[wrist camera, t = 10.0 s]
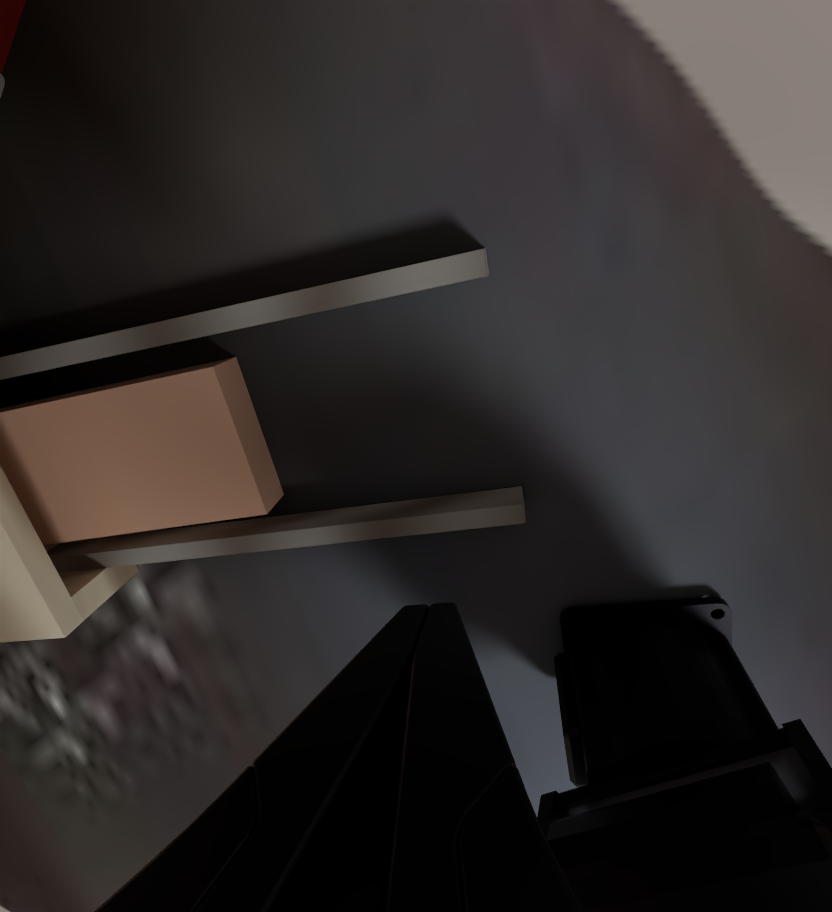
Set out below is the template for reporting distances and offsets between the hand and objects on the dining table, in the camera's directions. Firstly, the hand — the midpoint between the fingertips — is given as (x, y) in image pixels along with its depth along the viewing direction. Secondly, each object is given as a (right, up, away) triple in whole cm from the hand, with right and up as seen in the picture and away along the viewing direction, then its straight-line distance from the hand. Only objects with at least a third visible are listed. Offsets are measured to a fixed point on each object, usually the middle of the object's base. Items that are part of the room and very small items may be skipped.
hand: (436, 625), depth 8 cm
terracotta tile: (-12, +3, +14) cm, 19 cm away
